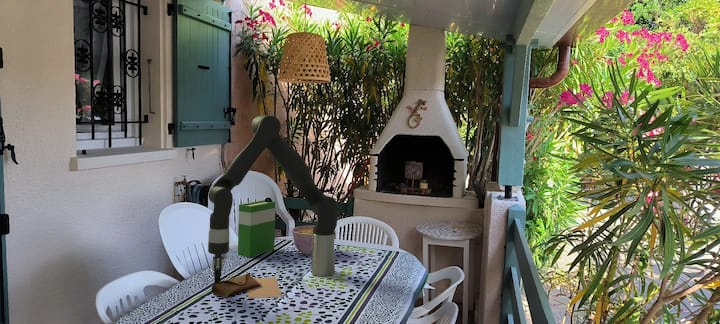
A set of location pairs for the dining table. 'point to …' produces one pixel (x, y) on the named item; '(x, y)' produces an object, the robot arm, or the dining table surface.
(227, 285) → the sunglasses case
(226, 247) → the robot arm
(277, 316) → the dining table surface
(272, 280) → the mat
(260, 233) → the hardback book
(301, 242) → the bowl of food
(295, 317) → the dining table surface
